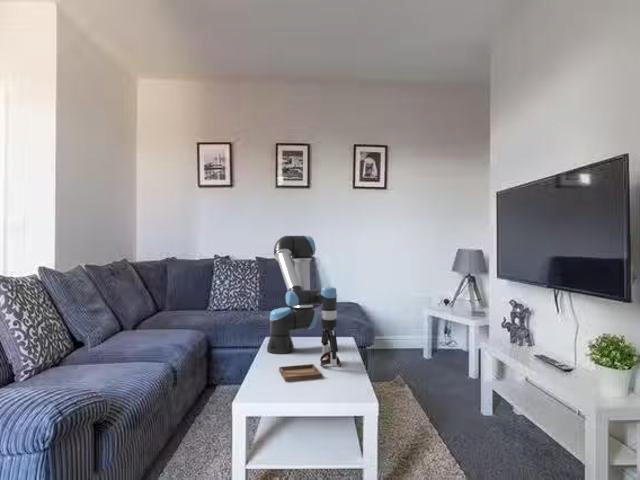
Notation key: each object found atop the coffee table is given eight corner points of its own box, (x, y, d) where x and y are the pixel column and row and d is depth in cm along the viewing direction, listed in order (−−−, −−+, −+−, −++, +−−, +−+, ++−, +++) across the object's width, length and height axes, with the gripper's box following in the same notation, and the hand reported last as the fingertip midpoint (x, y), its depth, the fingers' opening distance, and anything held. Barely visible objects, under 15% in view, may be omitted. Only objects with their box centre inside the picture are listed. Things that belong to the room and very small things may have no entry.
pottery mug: (342, 370, 199) (334, 356, 198) (325, 378, 201) (317, 364, 199) (342, 357, 211) (335, 344, 209) (326, 364, 213) (318, 351, 211)
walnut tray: (279, 371, 197) (279, 366, 197) (313, 368, 201) (313, 364, 201) (285, 381, 182) (285, 377, 182) (321, 378, 186) (321, 373, 186)
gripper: (315, 315, 216) (315, 356, 216) (329, 323, 192) (329, 369, 192) (329, 314, 218) (329, 354, 218) (344, 322, 194) (345, 368, 194)
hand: (329, 361), depth 205 cm, fingers open, 13 cm apart
